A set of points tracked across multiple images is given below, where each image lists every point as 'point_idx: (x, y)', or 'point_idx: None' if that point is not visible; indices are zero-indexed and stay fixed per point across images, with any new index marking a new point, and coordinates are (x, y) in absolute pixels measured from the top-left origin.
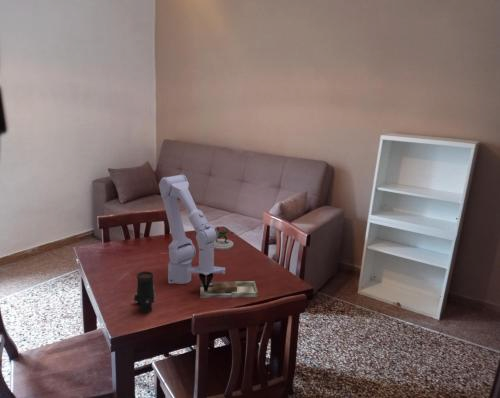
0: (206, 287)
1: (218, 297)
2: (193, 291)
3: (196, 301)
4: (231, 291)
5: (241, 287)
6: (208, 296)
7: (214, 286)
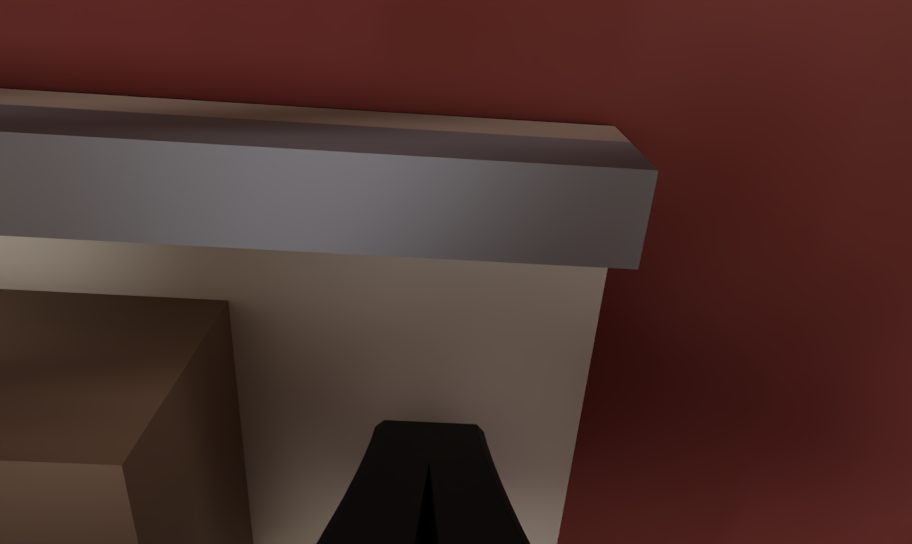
0: (407, 509)
1: (16, 103)
2: (705, 504)
3: (743, 36)
4: None
5: None
6: (354, 135)
7: (68, 526)
